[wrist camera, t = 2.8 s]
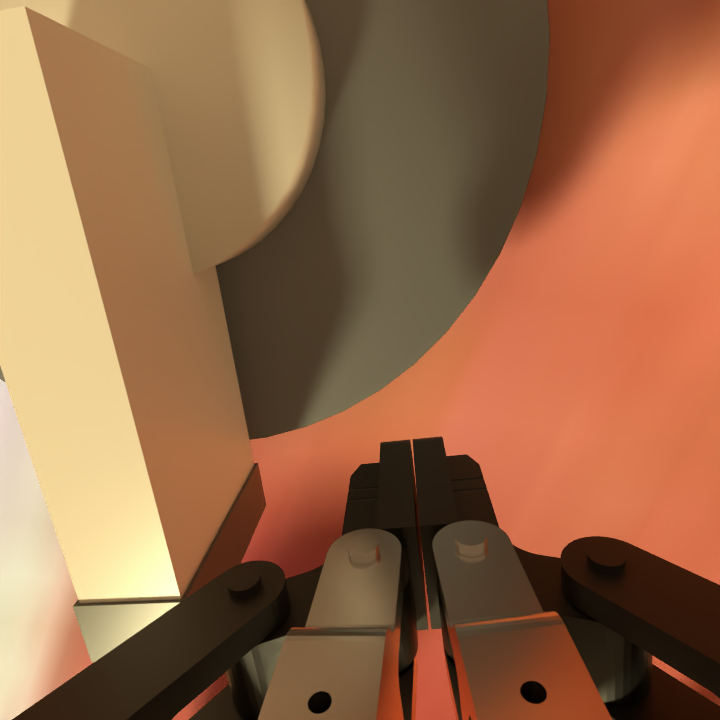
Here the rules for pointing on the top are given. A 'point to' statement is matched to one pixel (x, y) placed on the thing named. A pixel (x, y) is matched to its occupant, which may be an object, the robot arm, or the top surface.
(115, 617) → the dial lever
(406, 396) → the top surface
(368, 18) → the dial base
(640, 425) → the top surface
